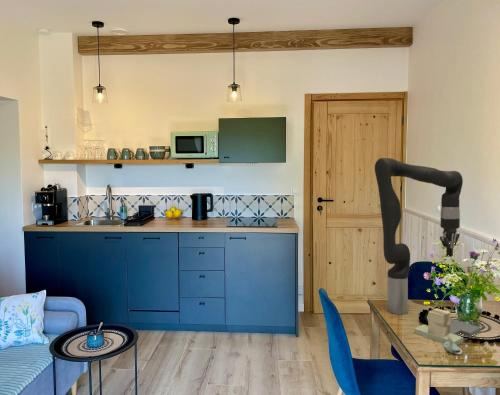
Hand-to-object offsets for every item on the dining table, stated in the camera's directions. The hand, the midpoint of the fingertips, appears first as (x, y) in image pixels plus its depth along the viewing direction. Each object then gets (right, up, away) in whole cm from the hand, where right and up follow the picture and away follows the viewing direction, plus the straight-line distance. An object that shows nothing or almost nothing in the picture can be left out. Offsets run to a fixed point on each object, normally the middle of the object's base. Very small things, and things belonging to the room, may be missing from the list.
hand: (449, 256), depth 176 cm
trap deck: (-4, -32, -5) cm, 32 cm away
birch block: (-9, -30, -10) cm, 33 cm away
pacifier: (-9, -34, -22) cm, 41 cm away
